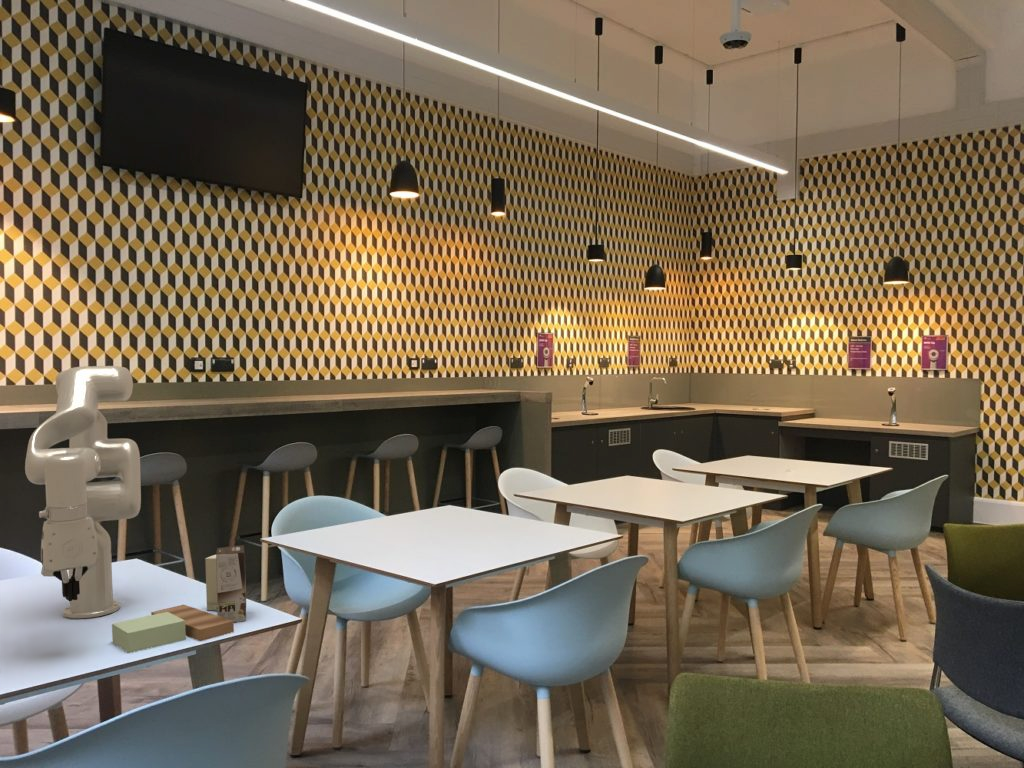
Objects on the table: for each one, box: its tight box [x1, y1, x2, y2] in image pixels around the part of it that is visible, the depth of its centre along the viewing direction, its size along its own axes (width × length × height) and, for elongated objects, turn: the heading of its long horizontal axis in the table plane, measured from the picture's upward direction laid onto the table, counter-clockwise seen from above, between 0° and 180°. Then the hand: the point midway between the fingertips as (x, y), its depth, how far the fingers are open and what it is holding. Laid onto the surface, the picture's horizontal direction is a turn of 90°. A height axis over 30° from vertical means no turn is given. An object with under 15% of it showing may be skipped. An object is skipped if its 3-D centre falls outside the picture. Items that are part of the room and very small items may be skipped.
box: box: [204, 554, 218, 611], centre depth 213 cm, size 5×4×13 cm
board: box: [150, 604, 235, 642], centre depth 198 cm, size 22×8×3 cm, turn 49°
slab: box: [111, 612, 187, 654], centre depth 189 cm, size 10×12×4 cm
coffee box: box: [215, 545, 247, 623], centre depth 205 cm, size 9×6×16 cm
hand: (71, 598), depth 183 cm, fingers closed
